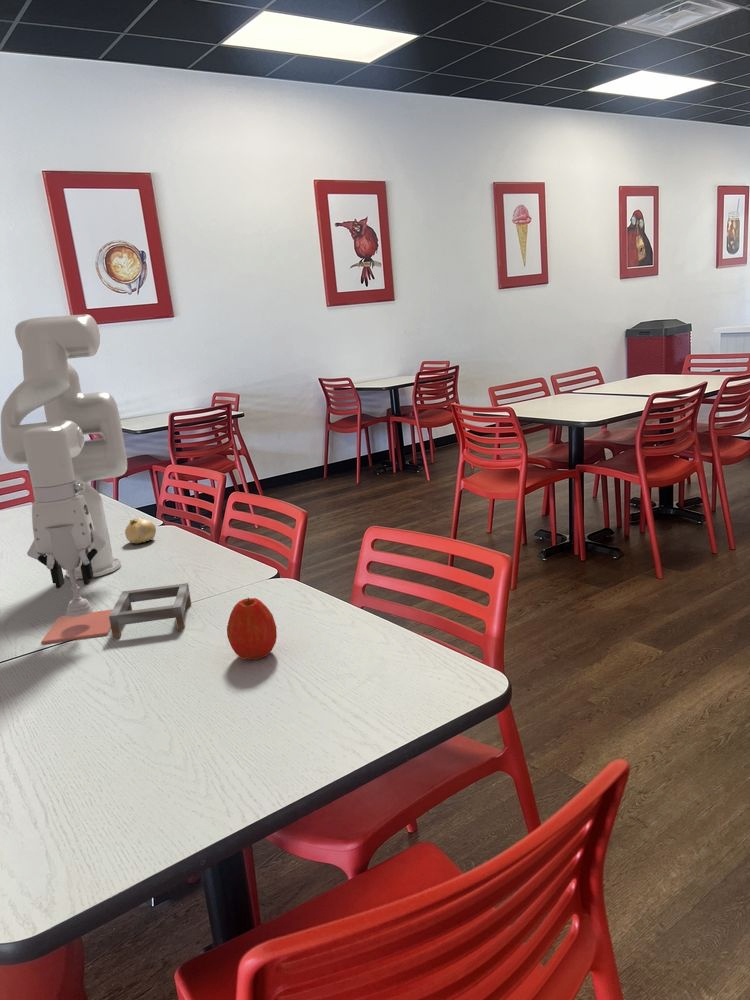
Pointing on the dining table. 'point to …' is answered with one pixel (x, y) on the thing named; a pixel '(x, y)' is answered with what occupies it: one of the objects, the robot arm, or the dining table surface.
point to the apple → (251, 629)
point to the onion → (140, 530)
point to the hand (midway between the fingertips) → (74, 583)
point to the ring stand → (126, 615)
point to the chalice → (69, 567)
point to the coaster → (79, 627)
